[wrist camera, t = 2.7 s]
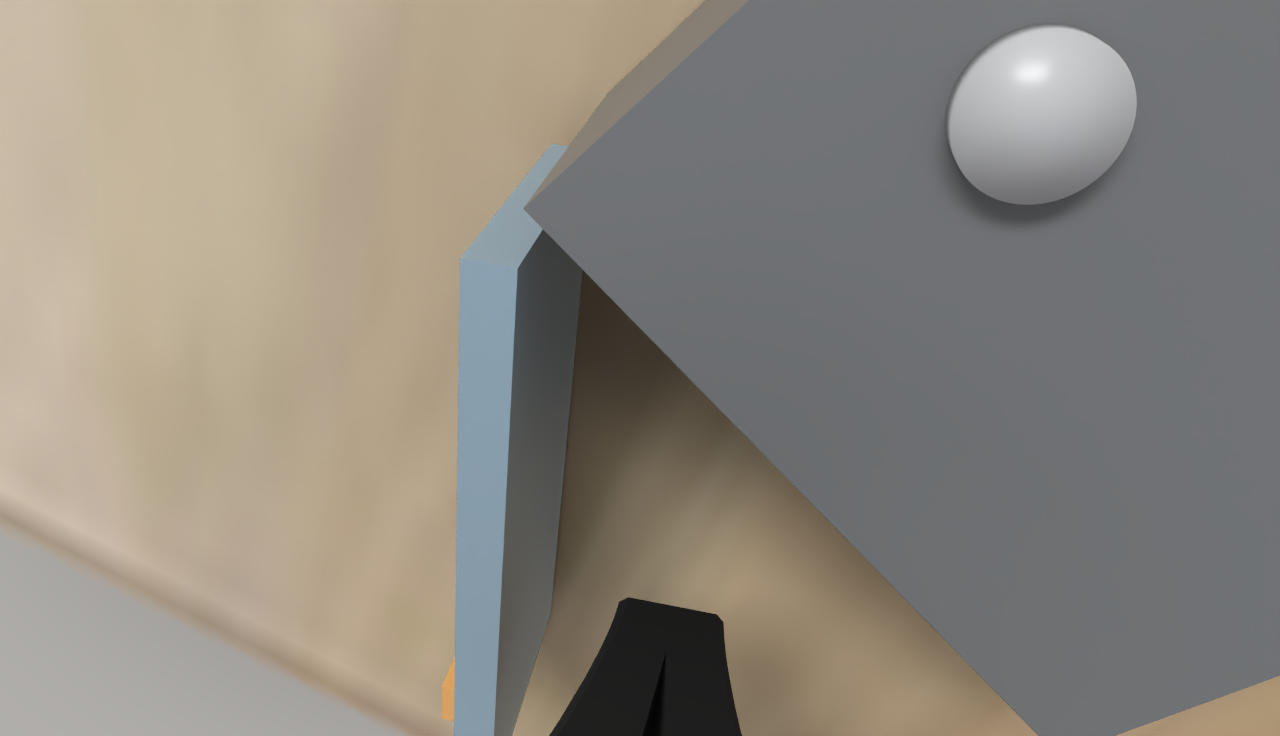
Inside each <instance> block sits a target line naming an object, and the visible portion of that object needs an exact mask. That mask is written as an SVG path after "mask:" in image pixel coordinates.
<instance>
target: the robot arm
mask: <svg viewBox="0 0 1280 736" xmlns="http://www.w3.org/2000/svg"><path fill="white" fill-rule="evenodd" d="M549 736H742V734H741V731H740V727H739V722H738V718H737V713H736V709H735V704H734V699H733V694H732V689H731V684H730V679H729V672H728V666H727V659H726V652H725V642H724V626H723V621H722V620H721V619H720V618H719V616H718V615H716V614H711V613H706V612H701V611H696V610H691V609H686V608H680V607H675V606H670V605H665V604H660V603H655V602H650V601H644V600H639V599H634V598H629V597H628V598H626V599H624V600H622V601H620V602H619V605H618V608H617V611H616V614H615V617H614V620H613V622H612V624H611V627H610V629H609V632H608V634H607V636H606V638H605V640H604V643H603V645H602V647H601V649H600V651H599V653H598V655H597V657H596V658H595V660H594V662H593V664H592V666H591V668H590V670H589V671H588V673H587V675H586V677H585V679H584V680H583V682H582V684H581V685H580V687H579V689H578V690H577V692H576V694H575V695H574V697H573V699H572V700H571V702H570V704H569V705H568V707H567V709H566V710H565V712H564V714H563V715H562V717H561V719H560V720H559V722H558V723H557V725H556V726H555V728H554V729H553V731H552V732H551V734H550V735H549Z"/></svg>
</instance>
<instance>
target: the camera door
mask: <svg viewBox="0 0 1280 736" xmlns="http://www.w3.org/2000/svg"><path fill="white" fill-rule="evenodd" d="M568 147H569V146H563V145H557V144H551V145H550V147H549V148H548V149H547V150H546V152H545V153H544V154H543V155H542V157H541V158H540V159H539V160H538V162H537V163H536V164H535V165H534V167H533V168H532V169H531V170H530V172H529V173H528V174H527V175H526V177H525V178H524V179H523V180H522V182H521V183H520V184H519V185H518V187H517V188H516V189H515V190H514V192H513V193H512V194H511V195H510V197H509V198H508V199H507V200H506V202H505V203H504V204H503V205H502V207H501V208H500V209H499V210H498V212H497V213H496V214H495V215H494V217H493V218H492V219H491V220H490V222H489V223H488V224H487V225H486V227H485V228H484V229H483V230H482V232H481V233H480V234H479V235H478V237H477V238H476V239H475V240H474V242H473V243H472V244H471V245H470V247H469V248H468V249H467V250H466V252H465V253H464V254H463V255H462V257H461V258H460V310H459V386H458V461H457V537H456V612H455V657H454V659H453V662H452V664H451V666H450V669H449V671H448V674H447V676H446V678H445V681H444V683H443V686H442V719H447V720H452V721H454V736H512V734H513V731H514V727H515V724H516V721H517V718H518V715H519V712H520V708H521V705H522V702H523V699H524V696H525V693H526V689H527V686H528V683H529V680H530V677H531V674H532V670H533V667H534V664H535V661H536V658H537V655H538V652H539V648H540V645H541V642H542V639H543V636H544V633H545V629H546V626H547V623H548V620H549V617H550V614H551V605H552V594H553V583H554V573H555V562H556V551H557V540H558V530H559V519H560V508H561V498H562V487H563V476H564V465H565V455H566V444H567V433H568V422H569V412H570V401H571V390H572V380H573V369H574V358H575V347H576V337H577V326H578V315H579V304H580V294H581V283H582V272H583V270H582V268H581V267H580V266H579V265H578V264H577V263H576V262H575V261H574V260H573V259H572V258H571V257H570V256H569V255H568V254H567V253H566V252H565V251H564V250H563V249H562V248H561V247H560V246H559V245H558V244H557V243H556V242H555V241H554V240H553V239H552V238H551V237H550V236H549V235H548V234H547V233H546V232H545V231H544V230H543V229H542V228H541V227H540V226H539V225H538V223H537V222H536V221H535V220H534V219H533V218H532V217H531V216H530V215H529V214H528V213H527V212H526V211H525V210H524V209H523V208H524V206H525V205H526V204H527V202H528V201H529V200H530V198H531V197H532V196H533V194H534V193H535V192H536V190H537V189H538V187H539V186H540V185H541V183H542V182H543V181H544V179H545V178H546V177H547V175H548V174H549V173H550V171H551V170H552V168H553V167H554V166H555V164H556V163H557V162H558V160H559V159H560V158H561V156H562V155H563V154H564V152H565V151H566V149H567V148H568Z"/></svg>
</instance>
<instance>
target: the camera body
mask: <svg viewBox="0 0 1280 736" xmlns="http://www.w3.org/2000/svg"><path fill="white" fill-rule="evenodd" d="M523 209H524V210H525V211H526V212H527V213H528V214H529V215H530V216H531V217H532V218H533V219H534V220H535V221H536V222H537V223H538V225H539V226H540V227H541V228H542V229H543V230H544V231H545V232H546V233H547V234H548V235H549V236H550V237H551V238H552V239H553V240H554V241H555V242H556V243H557V244H558V245H559V246H560V247H561V248H562V249H563V250H564V251H565V252H566V253H567V254H568V255H569V256H570V257H571V258H572V259H573V260H574V261H575V262H576V263H577V264H578V265H579V266H580V267H581V268H582V270H583V271H584V272H585V273H586V274H587V275H588V276H589V277H590V278H591V279H592V280H593V281H594V282H595V283H596V284H597V285H598V286H599V287H600V288H601V289H602V290H603V291H604V292H605V293H606V294H607V295H608V296H609V297H610V298H611V299H612V300H613V301H614V302H615V303H616V304H617V305H618V306H619V307H620V308H621V309H622V310H623V311H624V312H625V313H626V314H627V316H628V317H629V318H630V319H631V320H632V321H633V322H634V323H635V324H636V325H637V326H638V327H639V328H640V329H641V330H642V331H643V332H644V333H645V334H646V335H647V336H648V337H649V338H650V339H651V340H652V341H653V342H654V343H655V344H656V345H657V346H658V347H659V348H660V349H661V350H662V351H663V352H664V353H665V354H666V355H667V356H668V357H669V358H670V359H671V360H672V362H673V363H674V364H675V365H676V366H677V367H678V368H679V369H680V370H681V371H682V372H683V373H684V374H685V375H686V376H687V377H688V378H689V379H690V380H691V381H692V382H693V383H694V384H695V385H696V386H697V387H698V388H699V389H700V390H701V391H702V392H703V393H704V394H705V395H706V396H707V397H708V398H709V399H710V400H711V401H712V402H713V403H714V404H715V405H716V406H717V408H718V409H719V410H720V411H721V412H722V413H723V414H724V415H725V416H726V417H727V418H728V419H729V420H730V421H731V422H732V423H733V424H734V425H735V426H736V427H737V428H738V429H739V430H740V431H741V432H742V433H743V434H744V435H745V436H746V437H747V438H748V439H749V440H750V441H751V442H752V443H753V444H754V445H755V446H756V447H757V448H758V449H759V450H760V451H761V452H762V454H763V455H764V456H765V457H766V458H767V459H768V460H769V461H770V462H771V463H772V464H773V465H774V466H775V467H776V468H777V469H778V470H779V471H780V472H781V473H782V474H783V475H784V476H785V477H786V478H787V479H788V480H789V481H790V482H791V483H792V484H793V485H794V486H795V487H796V488H797V489H798V490H799V491H800V492H801V493H802V494H803V495H804V496H805V497H806V499H807V500H808V501H809V502H810V503H811V504H812V505H813V506H814V507H815V508H816V509H817V510H818V511H819V512H820V513H821V514H822V515H823V516H824V517H825V518H826V519H827V520H828V521H829V522H830V523H831V524H832V525H833V526H834V527H835V528H836V529H837V530H838V531H839V532H840V533H841V534H842V535H843V536H844V537H845V538H846V539H847V540H848V541H849V542H850V543H851V545H852V546H853V547H854V548H855V549H856V550H857V551H858V552H859V553H860V554H861V555H862V556H863V557H864V558H865V559H866V560H867V561H868V562H869V563H870V564H871V565H872V566H873V567H874V568H875V569H876V570H877V571H878V572H879V573H880V574H881V575H882V576H883V577H884V578H885V579H886V580H887V581H888V582H889V583H890V584H891V585H892V586H893V587H894V588H895V589H896V591H897V592H898V593H899V594H900V595H901V596H902V597H903V598H904V599H905V600H906V601H907V602H908V603H909V604H910V605H911V606H912V607H913V608H914V609H915V610H916V611H917V612H918V613H919V614H920V615H921V616H922V617H923V618H924V619H925V620H926V621H927V622H928V623H929V624H930V625H931V626H932V627H933V628H934V629H935V630H936V631H937V632H938V633H939V634H940V635H941V637H942V638H943V639H944V640H945V641H946V642H947V643H948V644H949V645H950V646H951V647H952V648H953V649H954V650H955V651H956V652H957V653H958V654H959V655H960V656H961V657H962V658H963V659H964V660H965V661H966V662H967V663H968V664H969V665H970V666H971V667H972V668H973V669H974V670H975V671H976V672H977V673H978V674H979V675H980V676H981V677H982V678H983V679H984V680H985V681H986V683H987V684H988V685H989V686H990V687H991V688H992V689H993V690H994V691H995V692H996V693H997V694H998V695H999V696H1000V697H1001V698H1002V699H1003V700H1004V701H1005V702H1006V703H1007V704H1008V705H1009V706H1010V707H1011V708H1012V709H1013V710H1014V711H1015V712H1016V713H1017V714H1018V715H1019V716H1020V717H1021V718H1022V719H1023V720H1024V721H1025V722H1026V723H1027V724H1028V725H1029V726H1030V727H1031V729H1032V730H1033V731H1034V732H1035V733H1036V734H1037V735H1038V736H1115V735H1118V734H1121V733H1124V732H1126V731H1129V730H1132V729H1135V728H1137V727H1140V726H1143V725H1145V724H1148V723H1151V722H1154V721H1156V720H1159V719H1162V718H1165V717H1167V716H1170V715H1173V714H1176V713H1178V712H1181V711H1184V710H1187V709H1189V708H1192V707H1195V706H1198V705H1200V704H1203V703H1206V702H1209V701H1211V700H1214V699H1217V698H1220V697H1222V696H1225V695H1228V694H1230V693H1233V692H1236V691H1239V690H1241V689H1244V688H1247V687H1250V686H1252V685H1255V684H1258V683H1261V682H1263V681H1266V680H1269V679H1272V678H1274V677H1277V676H1280V0H706V1H705V2H704V3H703V4H702V5H701V6H700V7H699V8H698V9H697V10H695V11H694V12H693V13H692V14H691V15H690V16H689V17H688V18H687V19H686V20H685V21H684V22H683V23H682V24H681V25H680V26H679V27H678V28H676V29H675V30H674V31H673V32H672V33H671V34H670V35H669V36H668V37H667V38H666V39H665V40H664V41H663V42H662V43H661V44H660V45H659V46H657V47H656V48H655V49H654V50H653V51H652V52H651V53H650V54H649V55H648V56H647V57H646V58H645V59H644V60H643V61H642V62H641V63H640V64H639V65H637V66H636V67H635V68H634V69H633V70H632V71H631V72H630V73H629V74H628V75H627V76H626V77H625V78H624V79H623V80H622V81H621V82H620V83H618V84H617V85H616V86H615V87H614V88H613V89H612V90H611V91H610V92H609V93H608V94H607V95H606V97H605V98H604V99H603V101H602V102H601V103H600V105H599V106H598V107H597V109H596V110H595V111H594V113H593V114H592V116H591V117H590V118H589V120H588V121H587V122H586V124H585V125H584V126H583V128H582V129H581V130H580V132H579V133H578V135H577V136H576V137H575V139H574V140H573V141H572V143H571V144H570V145H569V147H568V148H567V149H566V151H565V152H564V154H563V155H562V156H561V158H560V159H559V160H558V162H557V163H556V164H555V166H554V167H553V168H552V170H551V171H550V173H549V174H548V175H547V177H546V178H545V179H544V181H543V182H542V183H541V185H540V186H539V187H538V189H537V190H536V192H535V193H534V194H533V196H532V197H531V198H530V200H529V201H528V202H527V204H526V205H525V206H524V208H523Z"/></svg>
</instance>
